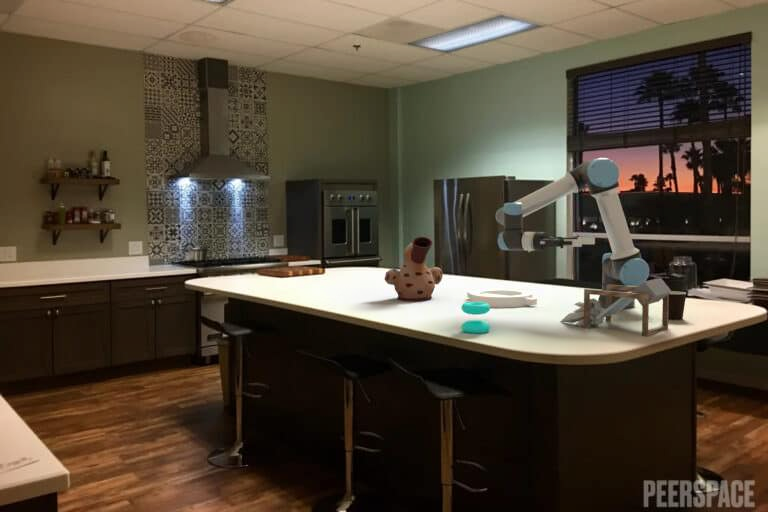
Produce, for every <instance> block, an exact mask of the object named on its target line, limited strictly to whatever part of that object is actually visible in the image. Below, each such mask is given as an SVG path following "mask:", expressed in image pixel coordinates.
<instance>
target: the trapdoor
mask: <svg viewBox="0 0 768 512" xmlns="http://www.w3.org/2000/svg"><path fill="white" fill-rule="evenodd" d="M636 287H637V288H635V289H634V290H633V291H629V292H628V293H640V294H649V305H651V304H654V303H659V302H660V301H661V300H663V298H664V297H665V296H667V295H668V294H669V293H671V292H672V291H673V290H671V289H670V287H669V286H668V285H667V284H666V282H665V281H664V280H663V279H662V278H661V277H658V278H654V279H650V280H646V281H645V282H643V283H642V284H641V285H639V286H636ZM634 300H635V301H636V300H637V302H638V303H639V304H640V306H642V303H643V299H637V298H626V297H621V298H620V299H618V300H617V301H616V302H615V303H613V304H612V305H611V306H609V307H608V308H607V309H606V308H605V309H604V310H603V312H602V313H600V314H599V315H598V316H596V318H597V319H601V318H604V319H605V318H606V317H608V316H611V317H612V316H614V315H617V314H618V313H620V312H621V311H622V310H624V309H626V308H625V307H626V306H627V305H629V304H630V303H631V302H633V301H634Z"/></svg>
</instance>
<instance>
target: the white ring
mask: <svg viewBox="0 0 768 512" xmlns="http://www.w3.org/2000/svg"><path fill="white" fill-rule="evenodd" d="M466 296H467V298H469V302H484V303H487V304H489V306H490V308H518V307H528V306H536V305H538V303H537V302H538V298H533V293H532V292H531V291H527V290H523V289H521V290H519V289H511V288H509V289H507V288H492V289H491V288H489V289H487V288H485V289H479V290H478V289H476V290H472V291H468V292H467V295H466Z"/></svg>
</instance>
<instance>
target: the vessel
mask: <svg viewBox="0 0 768 512" xmlns="http://www.w3.org/2000/svg"><path fill="white" fill-rule="evenodd" d="M432 246H433V241H432V239H430V238H428V237H426V236H417V237H415V238H414V239H412V242H410V243H409V244H408V245H407V246H406V247H405V248H404V250H403V257H404V263H403V265H402V267H401V268H400V270H398V269H396V268H391V269H389V270H387V271H386V272H385V276H384V281H385V282H386V283H387V284H388V285H391V286H393V287H394V291H395V293H396V294H397V298H396V299H397V300H400V301H406V302H410V301H411V302H414V301H416V302H418V301H427V300H431V299H432V298H433V296H432V295H433V293H434V290H435V288H436V285H440V283H441V282H442V279H443V276H444V274H443V271H442V269H441V268H440V267H438V266H433V267H430V268H429V267H428V266H427V264H426V258H427V255H428V253H429V251H430V249H431V247H432Z"/></svg>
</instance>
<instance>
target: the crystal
mask: <svg viewBox="0 0 768 512" xmlns="http://www.w3.org/2000/svg"><path fill="white" fill-rule="evenodd" d="M573 305H575V306H577V307H579V308H577V309H575V310H574V311H573V312H570V313H568V314H567V315H566V316H564V317H563V319H561V320H560V323H569V324H574V323H575V326H576V325H577V326H584V301H579V302H576V303H574V304H573ZM603 311H604V310H603V308H602V306H601V305H600V303H599V302H598V299H597V298H595V297H594V298H590V324H591V323H592V325H597V326H598V325H602V324H603V323H604V320H605V317H604V318H601V319H597V318H596V316H598V315H599V314H600V313H602V312H603Z"/></svg>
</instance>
